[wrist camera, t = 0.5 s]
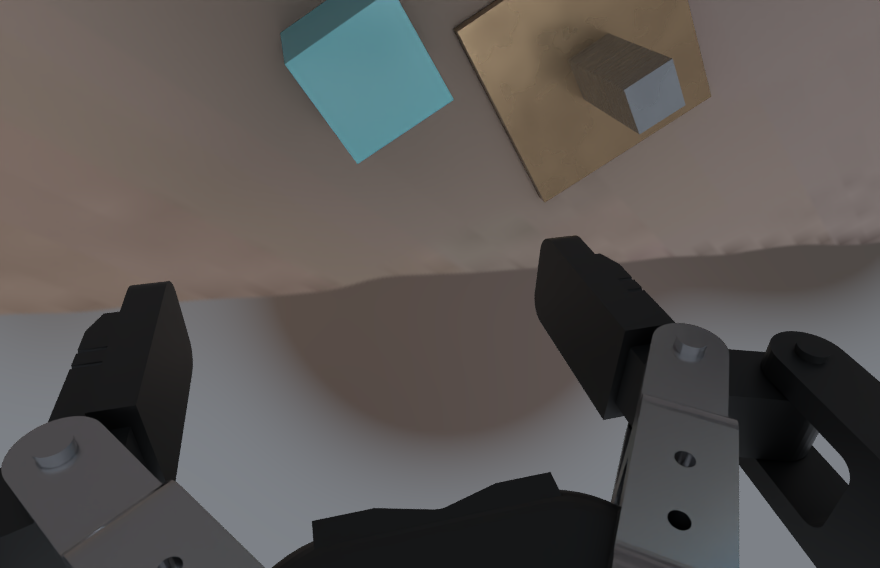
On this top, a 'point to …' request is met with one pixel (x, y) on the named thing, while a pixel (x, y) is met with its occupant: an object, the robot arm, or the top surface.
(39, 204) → the top surface
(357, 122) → the turquoise rectangular block
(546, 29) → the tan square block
